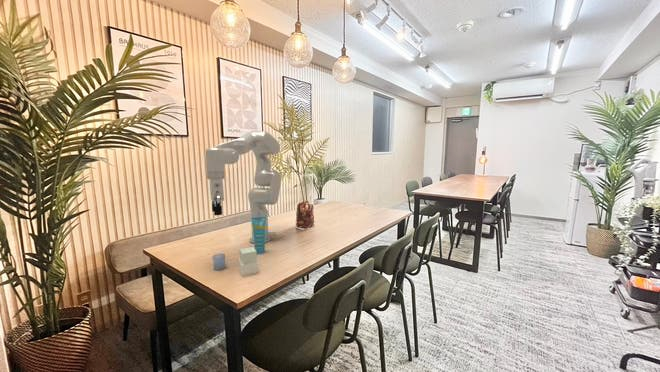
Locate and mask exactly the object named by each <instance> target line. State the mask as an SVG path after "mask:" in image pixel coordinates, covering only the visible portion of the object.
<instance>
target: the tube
mask: <svg viewBox="0 0 660 372" xmlns="http://www.w3.org/2000/svg"><path fill="white" fill-rule="evenodd" d="M251 220H252V226H253V234H254V243H253V244H254V249H255V250H256V252H257V254H259V255H260V254H264V253H265V251H266V250H265V249H266V247H265V246H266V245H265V222H266V217H251V216H250V221H251ZM252 226H251V227H252Z"/></svg>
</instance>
